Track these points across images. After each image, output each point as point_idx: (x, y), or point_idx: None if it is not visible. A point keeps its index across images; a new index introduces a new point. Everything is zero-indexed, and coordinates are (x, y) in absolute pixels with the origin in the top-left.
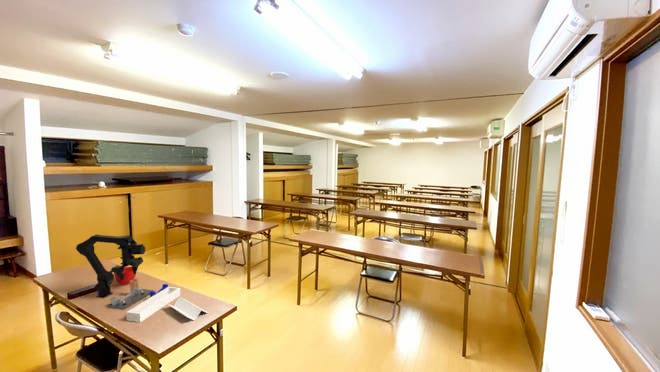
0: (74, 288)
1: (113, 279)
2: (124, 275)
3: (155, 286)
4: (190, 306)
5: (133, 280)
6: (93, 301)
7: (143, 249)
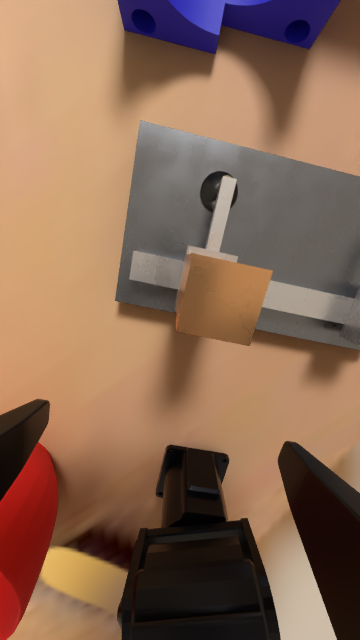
0: (117, 636)
1: (150, 560)
2: (10, 530)
3: (29, 197)
4: None
5: (234, 299)
6: (263, 477)
7: None
